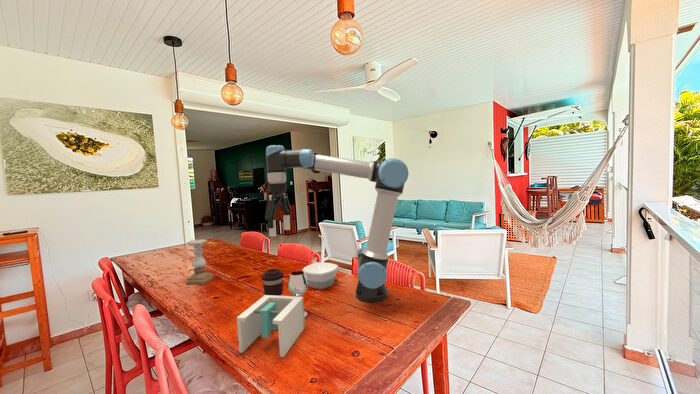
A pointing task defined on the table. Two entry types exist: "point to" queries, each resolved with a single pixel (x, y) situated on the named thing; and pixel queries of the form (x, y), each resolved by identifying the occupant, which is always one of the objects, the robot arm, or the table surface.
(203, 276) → the candle holder
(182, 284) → the table surface
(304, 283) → the wineglass
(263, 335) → the teal u-shaped bracket
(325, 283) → the bowl
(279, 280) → the coffee cup
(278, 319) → the white c-frame
